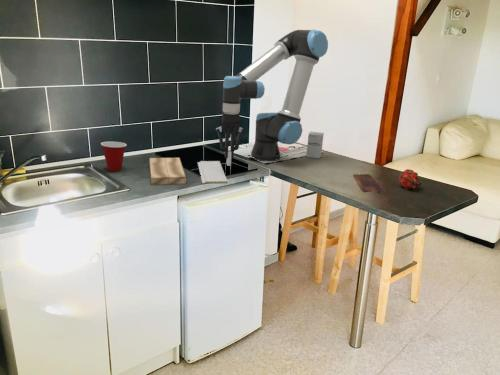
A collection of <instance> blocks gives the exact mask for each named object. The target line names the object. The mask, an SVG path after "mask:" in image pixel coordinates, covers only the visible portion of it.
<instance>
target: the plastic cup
mask: <svg viewBox="0 0 500 375" xmlns="http://www.w3.org/2000/svg"><path fill="white" fill-rule="evenodd" d="M100 145H101V148H102V151H103V154H104V156H103V157H104V159H105V164H106V167H107V170H108V171H110V172H120V171H121V170H122V168H123V162H124V158H125V157H124V156H125V151H126V150H125V149H126V147H127V143H125V142H121V141H103V142H100Z"/></svg>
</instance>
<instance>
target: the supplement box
mask: <svg viewBox="0 0 500 375" xmlns="http://www.w3.org/2000/svg"><path fill="white" fill-rule="evenodd" d="M324 134H325V133H324V132H317V131H310V132H308V137H307V147H306V158H313V159H320V158H321V156H322V150H323V142H324Z"/></svg>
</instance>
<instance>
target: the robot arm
mask: <svg viewBox="0 0 500 375" xmlns="http://www.w3.org/2000/svg"><path fill="white" fill-rule="evenodd" d="M328 49H329V41H328V38H327V35H326V34H325V33H324V32H323V31H322V30H316V29H296V30H293V31H291V32H289V33H287V34H285V35H283V36H282V37H281V38H279V39H278V40H277V41H276V42H275V43H274V46H273V47H271V48H270V49H268V51H266V52H265V53H264V54H263V55H261V56H260V57H259V58H257V59H256V60H255V61H253V62H252V63H251V64H250V65H248V66H247V67H246V68H244V69H243V70H242V71H241V72H239V73H237V74H235V75H226V76H225V77H224V78H223V84H222V87H223V88H222V90H223V91H222V117H221V123H220V126H218V127H216V128H215V130H216V131H215V132H217V136H218V140H219V145H220V149H221V150H222V151H224V158H225V159H226V165H227V166H229V167H230V166H231V167H232V159H234V155H235V153H234V152H235V151H238V150H239V147H240V143H241V139H242V136H243V135H244V133H245V131H246V129H244V128H243V127H241V124H240V111H241V100H244V99H246V100H247V99H252V100H253V99H255V100H256V99H261V98H262V97H263V96H264V94H265V90H266V88H265V85H264V83H263V82H262V81H258V80H259V79H260V78H261V77H263V76H264V75H265V74H266V73H267V72H269V71H271V70H272V69H273V68H274V67H275V66H277V65H278V64H279V63H280V62H282V61H283V60H285V61H286V60H289V58H291V57H293V56H294V59H295V64H294V66H293V67H294V68H293V71H292V75H291V78H290V81H289V84H288V88H287V92H286V95H285V98H284V101H283V105H282V108H281V110H279V111H278V112H259V113H257V115H256V117H255V118H256V119H255V135H254V136H255V137H254V138H255V140H254V144H253V146H252V149H251V152H250V157H251V156H252V157H254V158H256V159H255V160H257V159H259V160H258V161H264V160H267V161H269V162H270V160H273V161H277V160H276V159H278V160H279V158H280V159H281V152H280V148H279V144H278V143H280V144H283V145H293V144H295V143H296V142H298V141H299V140H300V138H301V137H302V133H303V125H302V124H301V121H302V120H301V116H300V113H301V109H302V106H303V102H304V101H305V100H304V98H305V96H306V93H307V89H308V86H309V83H310V79H311V76H312V72H313V69H314V66H315V65H317V64H318V63H319V61H320V58H322V57H323V56H324V55H326V53H327V51H328ZM222 131H223V132H224V135H225V136H224V139H223V135H222ZM237 132H238V134H237V137H236V140H235V136H236V133H237ZM229 143H230V148H229ZM229 149H230V150H229ZM252 157H251V158H252ZM254 158H253V159H254Z"/></svg>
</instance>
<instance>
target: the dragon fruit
mask: <svg viewBox="0 0 500 375" xmlns="http://www.w3.org/2000/svg"><path fill="white" fill-rule="evenodd" d="M398 180H399V181H398V184H399V186H402V187H403V189H405V190H410V188H411V189H415V188H416V187H419V186H421V185H422V182H421V180H420V176H419V174H418V172H415V171H414V169H409V168H408V169H404V170H403V171H401V173H400V174H399V177H398Z"/></svg>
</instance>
